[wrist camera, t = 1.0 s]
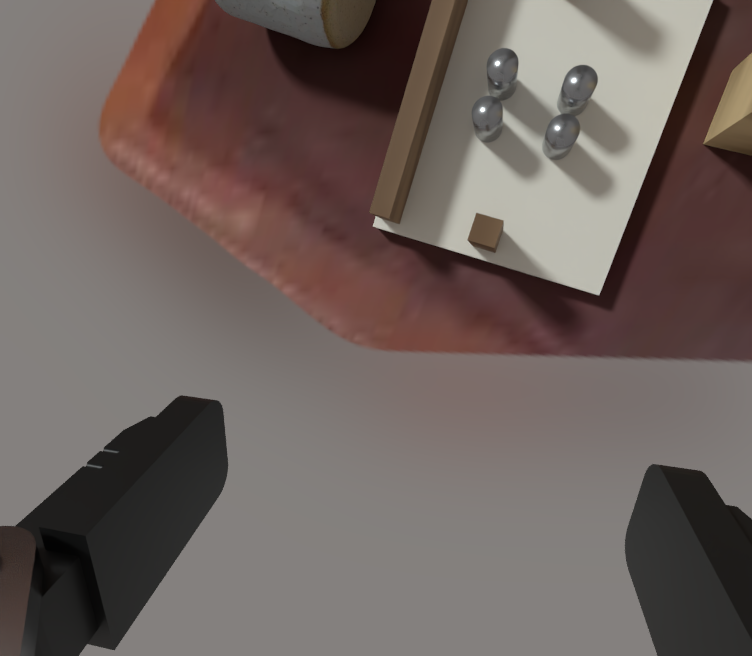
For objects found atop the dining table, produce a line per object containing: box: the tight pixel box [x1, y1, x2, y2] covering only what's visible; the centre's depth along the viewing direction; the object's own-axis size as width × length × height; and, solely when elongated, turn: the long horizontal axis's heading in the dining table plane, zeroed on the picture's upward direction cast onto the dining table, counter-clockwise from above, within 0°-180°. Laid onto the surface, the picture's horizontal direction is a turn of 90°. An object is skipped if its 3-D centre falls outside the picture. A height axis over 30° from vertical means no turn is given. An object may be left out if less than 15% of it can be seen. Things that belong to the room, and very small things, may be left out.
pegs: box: [472, 48, 598, 160], centre depth 27 cm, size 6×4×3 cm
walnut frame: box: [369, 0, 504, 253], centre depth 26 cm, size 7×16×5 cm, turn 162°
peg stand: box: [373, 0, 713, 295], centre depth 29 cm, size 14×17×1 cm
